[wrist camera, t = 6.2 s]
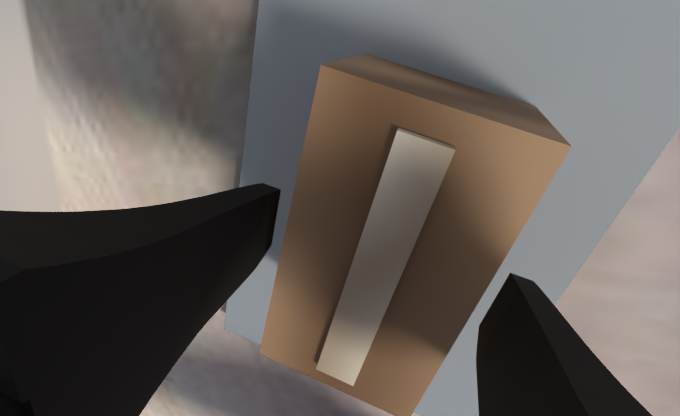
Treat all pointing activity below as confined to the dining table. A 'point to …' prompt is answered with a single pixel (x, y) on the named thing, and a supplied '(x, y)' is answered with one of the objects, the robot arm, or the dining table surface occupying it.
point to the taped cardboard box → (399, 224)
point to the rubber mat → (492, 76)
